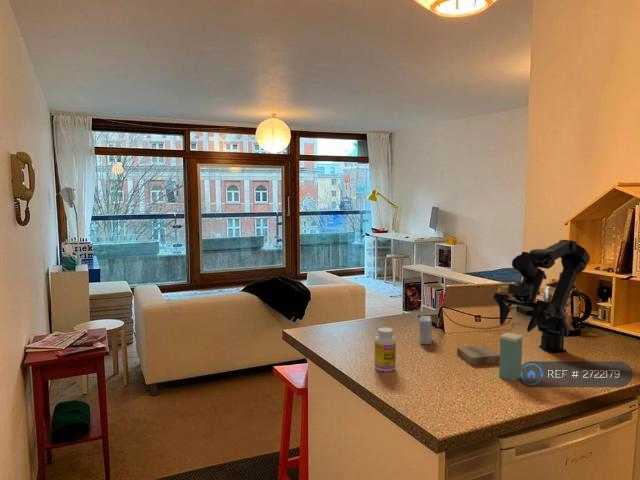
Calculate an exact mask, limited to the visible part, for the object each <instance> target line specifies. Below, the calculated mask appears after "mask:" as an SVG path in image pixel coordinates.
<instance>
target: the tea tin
mask: <svg viewBox="0 0 640 480" xmlns="http://www.w3.org/2000/svg"><path fill="white" fill-rule="evenodd" d="M523 338H524V335H520V334H516V333H512V332H505V333H503V334H502V335H499V339H500V343H499V345H500V346H499V355H500V363H499V369H498V370H499V378H502V379H505V380H508V381H512V382H516V381H517V380H519V379H520V378H521V377H522V361H523V360H522V359H523V352H522V351H523Z"/></svg>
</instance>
